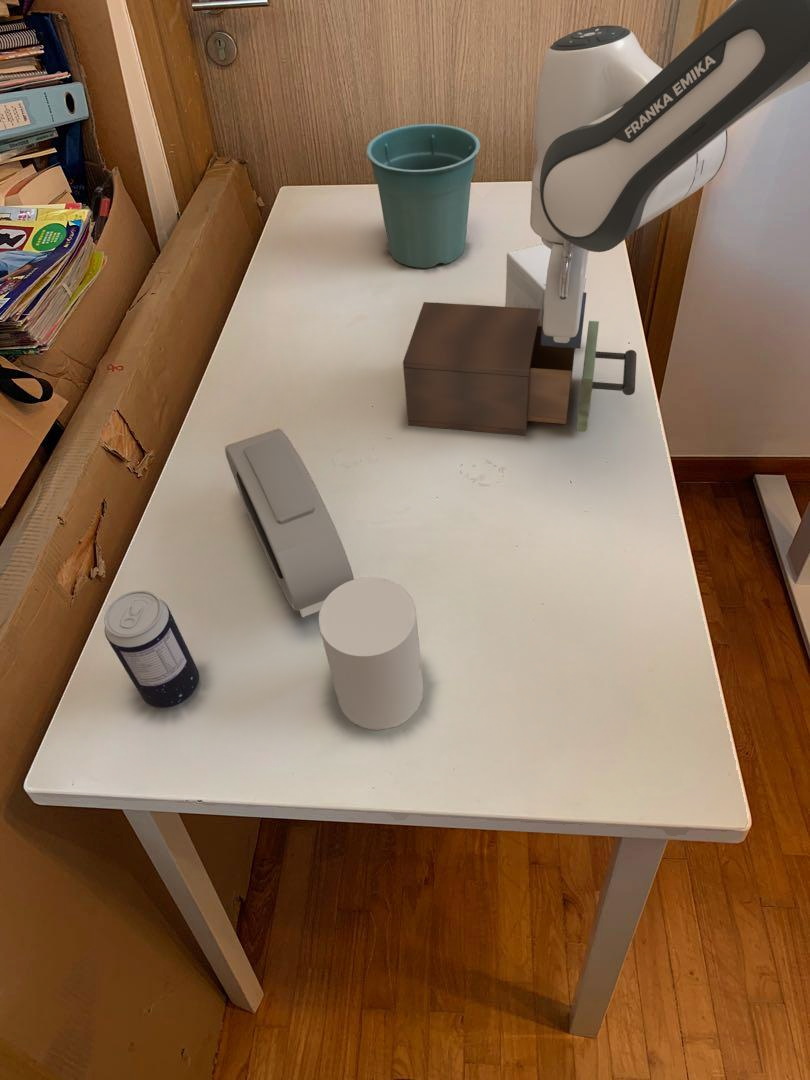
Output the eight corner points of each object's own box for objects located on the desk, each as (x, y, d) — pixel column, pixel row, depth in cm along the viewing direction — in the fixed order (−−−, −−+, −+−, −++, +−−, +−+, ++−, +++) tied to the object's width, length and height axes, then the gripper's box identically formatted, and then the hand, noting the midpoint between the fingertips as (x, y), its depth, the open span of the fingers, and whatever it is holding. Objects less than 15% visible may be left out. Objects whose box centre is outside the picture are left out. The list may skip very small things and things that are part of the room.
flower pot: (444, 213, 138) (440, 113, 126) (500, 254, 128) (502, 149, 116) (358, 244, 133) (346, 142, 121) (409, 288, 123) (402, 182, 111)
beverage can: (210, 667, 80) (176, 591, 71) (187, 717, 77) (148, 645, 68) (157, 658, 81) (117, 582, 72) (132, 707, 78) (87, 634, 69)
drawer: (631, 376, 104) (640, 323, 98) (628, 435, 97) (638, 382, 91) (487, 366, 108) (488, 314, 102) (474, 422, 100) (473, 370, 94)
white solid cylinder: (441, 686, 77) (436, 610, 68) (381, 746, 73) (367, 674, 64) (379, 640, 81) (367, 562, 72) (319, 694, 77) (298, 619, 68)
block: (582, 326, 96) (586, 292, 93) (580, 348, 93) (584, 314, 90) (544, 323, 97) (546, 290, 94) (540, 346, 94) (542, 312, 91)
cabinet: (536, 372, 107) (540, 308, 100) (525, 435, 99) (528, 371, 92) (427, 364, 110) (423, 301, 103) (408, 425, 102) (402, 361, 95)
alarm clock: (238, 497, 96) (212, 412, 86) (288, 479, 97) (267, 394, 88) (304, 644, 81) (281, 562, 72) (362, 621, 83) (346, 537, 73)
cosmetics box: (580, 347, 110) (588, 277, 103) (537, 360, 109) (542, 290, 101) (543, 308, 117) (548, 240, 109) (503, 320, 116) (504, 252, 108)
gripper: (599, 262, 76) (585, 382, 87) (610, 164, 90) (597, 278, 100) (532, 259, 78) (526, 377, 88) (552, 163, 91) (544, 275, 101)
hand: (563, 324), depth 94 cm, fingers closed on block, 4 cm apart
